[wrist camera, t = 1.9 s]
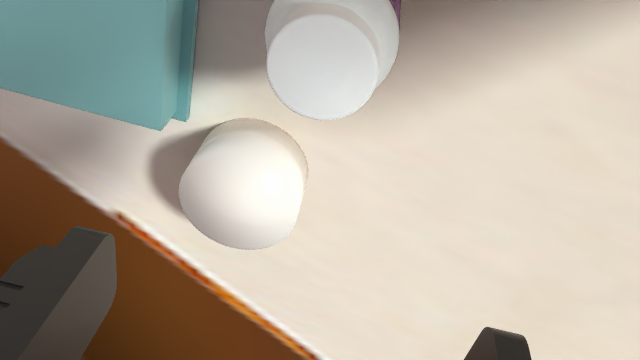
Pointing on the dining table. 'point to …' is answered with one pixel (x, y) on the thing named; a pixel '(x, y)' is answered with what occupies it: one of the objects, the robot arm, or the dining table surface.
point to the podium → (102, 55)
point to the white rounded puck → (245, 184)
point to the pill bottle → (330, 53)
